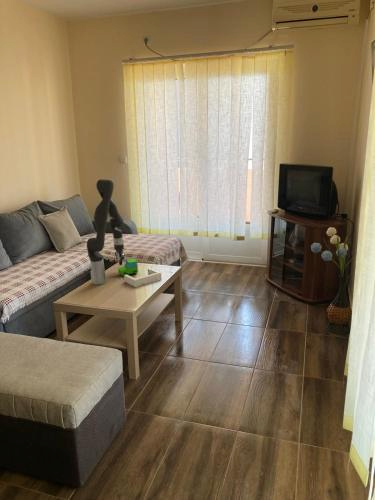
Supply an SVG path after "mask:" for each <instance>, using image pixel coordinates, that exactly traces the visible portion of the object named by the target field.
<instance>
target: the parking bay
mask: <svg viewBox="0 0 375 500" xmlns="http://www.w3.org/2000/svg"><path fill="white" fill-rule="evenodd" d="M123 278H124V282H125V283H127V284H128V285H130V286H133V287H135V288H137V287H141V286H144V285H147V284H150V283H153V282H157V281H159V280H162V272H160V271H158V270H156V269H153V268H147V275H144V276H141V277H137V278H135V277H133V276H130V274H127V275H123ZM143 284H144V285H143ZM140 285H141V286H140Z"/></svg>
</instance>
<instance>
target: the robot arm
mask: <svg viewBox="0 0 375 500" xmlns="http://www.w3.org/2000/svg"><path fill="white" fill-rule="evenodd" d="M95 186H96V189H97V191H98V193H99V195H100V198H101V199H102V200H101V201H100V203H98V205H97V206H96V208H95V210H94V215H93V220H94V221H93V222H94V225H95V227H96V237H89V238H88V239H87V241H86V249H87V255H88V258H89V262H90V279H91V280H90V281H91V284H93V285H94V286H98V285H103V284H105V283H106V282H107V279H106V271H105V263H104V256H103V254H102V253H101V252H102V251H103V249H104V247H105V240H106V229H107V222H108V216H109V217H110V218H109V226H110V229H111V232H112V237H113V239H112V241H113V250H114V251H115V252H114V254H115V255H114V256H115V257H116V259H117V261H118V265H119V266H122V265H123V260H124V259H125V258H126V257H125V256H126V254H124V250H125V244H124V235H123V230H121V229H119V228H121V227H123V226H124V223H125V221H124V219H123V217H122V215H121V214H120V213H119V210H118V208H117V205H116V203H115V202H114V200H113V199H112V197H113V192H114V186H115V185H114V182H113V180H111V179H105V178H104V179H103V178H102V179H98V180H97V182H96V184H95Z"/></svg>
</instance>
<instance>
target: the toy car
mask: <svg viewBox="0 0 375 500" xmlns="http://www.w3.org/2000/svg"><path fill="white" fill-rule="evenodd" d="M117 271H118V273H119V275H121V276H124V275H131V274H132V275H137V274H138V273H139V268H138V261H137V260H136V259H135V258H130V259H125V263H124V266H121V267H118V269H117Z"/></svg>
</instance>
